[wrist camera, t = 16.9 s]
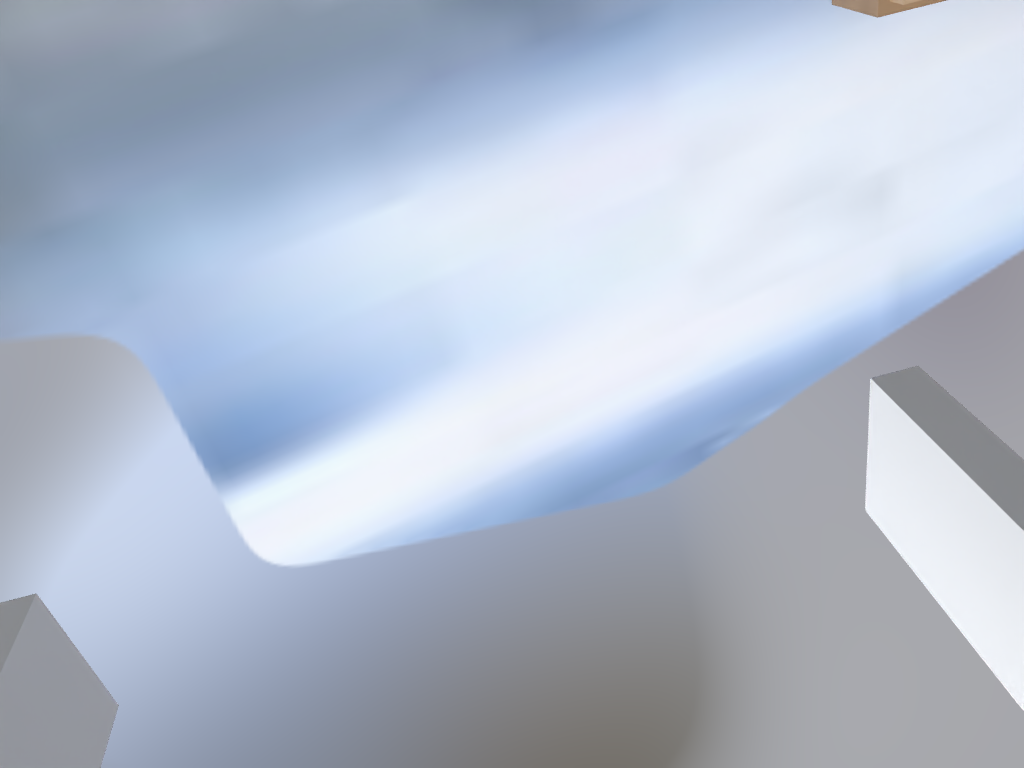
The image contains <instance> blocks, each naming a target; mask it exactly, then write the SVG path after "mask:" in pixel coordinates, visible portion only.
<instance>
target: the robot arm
mask: <svg viewBox="0 0 1024 768" xmlns="http://www.w3.org/2000/svg"><path fill="white" fill-rule="evenodd" d="M870 381H871V382H870V404H869V429H868V454H867V479H866V480H867V481H866V505H865V510H866V512H867V513H868V514H869V515H870V517H871V518H872V519H873V520H874V522H875V523H876V524H877V525H878V527H879V528H880V529H881V531H882V532H883V533H884V534H885V536H886V537H887V538H888V540H889V541H890V542H891V543H892V545H893V546H894V547H895V548H896V550H897V551H898V552H899V554H900V555H901V556H902V557H903V559H904V560H905V561H906V562H907V564H908V565H909V566H910V567H911V569H912V570H913V571H914V572H915V574H916V575H917V576H918V578H919V579H920V580H921V581H922V583H923V584H924V585H925V587H926V588H927V589H928V590H929V592H930V593H931V594H932V595H933V597H934V598H935V599H936V600H937V602H938V603H939V604H940V606H941V607H942V608H943V609H944V611H945V612H946V613H947V614H948V616H949V617H950V618H951V620H952V621H953V622H954V623H955V625H956V626H957V627H958V628H959V630H960V631H961V632H962V633H963V635H964V636H965V637H966V639H967V640H968V641H969V642H970V644H971V645H972V646H973V647H974V649H975V650H976V651H977V653H978V654H979V655H980V656H981V658H982V659H983V660H984V661H985V663H986V664H987V665H988V666H989V668H990V669H991V670H992V672H993V673H994V674H995V675H996V677H997V678H998V679H999V680H1000V682H1001V683H1002V684H1003V685H1004V687H1005V688H1006V689H1007V691H1008V692H1009V693H1010V694H1011V696H1012V697H1013V698H1014V699H1015V701H1016V702H1017V703H1018V705H1019V706H1020V707H1021V708H1022V710H1023V711H1024V460H1023V459H1022V458H1021V457H1020V456H1019V455H1018V454H1017V453H1016V452H1014V451H1013V450H1012V449H1011V448H1010V447H1009V446H1008V445H1007V444H1005V443H1004V442H1003V441H1002V440H1001V439H1000V438H999V437H997V436H996V435H995V434H994V433H993V432H992V431H991V430H990V429H988V428H987V427H986V426H985V425H984V424H983V423H982V422H980V420H978V419H977V418H976V417H975V416H974V415H973V414H972V413H971V412H969V411H968V410H967V409H966V408H965V407H964V406H963V405H962V404H960V403H959V402H958V401H957V400H956V399H955V398H954V397H953V396H951V395H950V394H949V393H948V392H947V391H946V390H945V389H944V388H942V387H941V386H940V385H939V384H938V383H937V382H936V381H935V380H933V379H932V378H931V377H930V376H929V375H928V374H927V373H926V372H924V371H923V370H922V369H921V368H920V367H919V366H915V367H912V368H908V369H904V370H900V371H896V372H892V373H888V374H885V375H881V376H877V377H873V378H870ZM118 706H119V705H118V704H117V702H116V701H115V700H114V699H113V697H112V696H111V694H110V693H109V691H108V690H107V689H106V687H105V686H104V685H103V683H102V682H101V681H100V679H99V678H98V677H97V675H96V674H95V672H94V671H93V670H92V668H91V667H90V666H89V664H88V663H87V662H86V660H85V659H84V657H83V656H82V655H81V653H80V652H79V651H78V649H77V648H76V647H75V645H74V644H73V643H72V641H71V640H70V638H69V637H68V636H67V634H66V633H65V632H64V630H63V629H62V628H61V626H60V625H59V623H58V622H57V621H56V619H55V618H54V617H53V615H52V614H51V613H50V611H49V610H48V609H47V607H46V606H45V605H44V603H43V602H42V600H41V599H40V598H39V596H38V595H37V594H32V595H29V596H25V597H21V598H17V599H13V600H9V601H6V602H1V603H0V768H101V764H102V761H103V757H104V754H105V751H106V747H107V744H108V740H109V737H110V733H111V730H112V727H113V722H114V720H115V716H116V713H117V710H118Z"/></svg>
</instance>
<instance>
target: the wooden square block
mask: <svg viewBox="0 0 1024 768" xmlns="http://www.w3.org/2000/svg"><path fill="white" fill-rule="evenodd" d="M942 1H946V0H832V5H836V6H839V7H843V8H846V9H850V10H853V11H857V12H860V13H864V14H867V15H871V16H875V17H882V16H886V15H890V14H894V13H898V12H902V11H906V10H910V9H914V8H918V7H922V6H926V5H930V4H934V3H938V2H942Z"/></svg>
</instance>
